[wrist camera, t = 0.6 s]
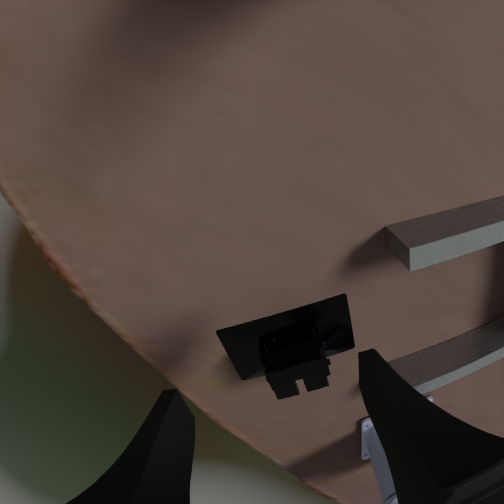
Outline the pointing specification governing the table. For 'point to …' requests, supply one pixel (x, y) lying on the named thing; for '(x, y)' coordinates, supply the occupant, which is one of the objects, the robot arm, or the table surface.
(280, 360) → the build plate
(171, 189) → the table surface
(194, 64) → the table surface
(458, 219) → the steel channel
